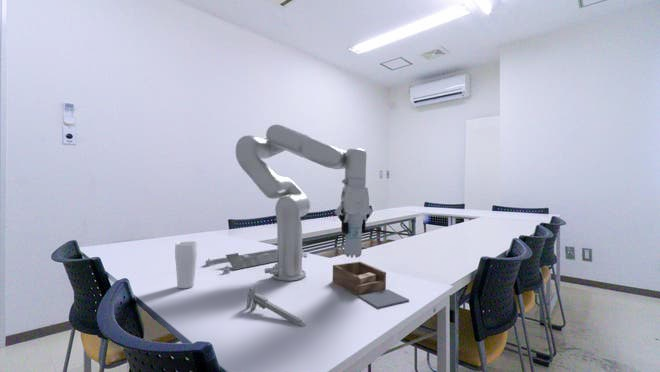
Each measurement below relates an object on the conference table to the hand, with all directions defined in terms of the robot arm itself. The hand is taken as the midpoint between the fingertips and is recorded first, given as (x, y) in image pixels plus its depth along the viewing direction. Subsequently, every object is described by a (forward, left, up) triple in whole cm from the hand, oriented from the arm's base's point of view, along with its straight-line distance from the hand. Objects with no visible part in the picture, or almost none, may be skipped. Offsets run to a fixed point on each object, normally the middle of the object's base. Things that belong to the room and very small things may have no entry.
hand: (353, 232), depth 107 cm
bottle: (0, 0, -9) cm, 9 cm away
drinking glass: (-54, +23, -19) cm, 61 cm away
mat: (0, -17, -18) cm, 25 cm away
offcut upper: (0, -7, -16) cm, 18 cm away
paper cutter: (-21, +46, -19) cm, 54 cm away
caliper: (-34, -13, -19) cm, 41 cm away
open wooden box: (0, -3, -18) cm, 19 cm away
